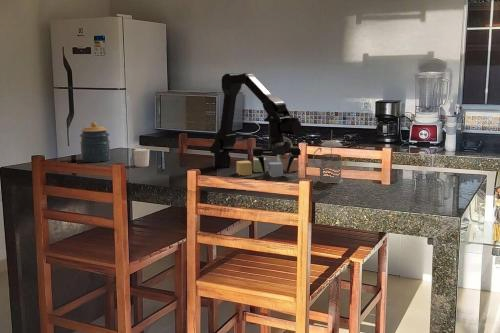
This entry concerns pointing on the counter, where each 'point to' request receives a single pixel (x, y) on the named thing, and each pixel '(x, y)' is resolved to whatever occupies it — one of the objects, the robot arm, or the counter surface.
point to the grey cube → (275, 169)
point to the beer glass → (285, 153)
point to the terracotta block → (293, 165)
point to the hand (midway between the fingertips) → (275, 173)
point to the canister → (94, 144)
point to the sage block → (258, 165)
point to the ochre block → (244, 167)
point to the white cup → (141, 157)
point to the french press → (330, 162)
